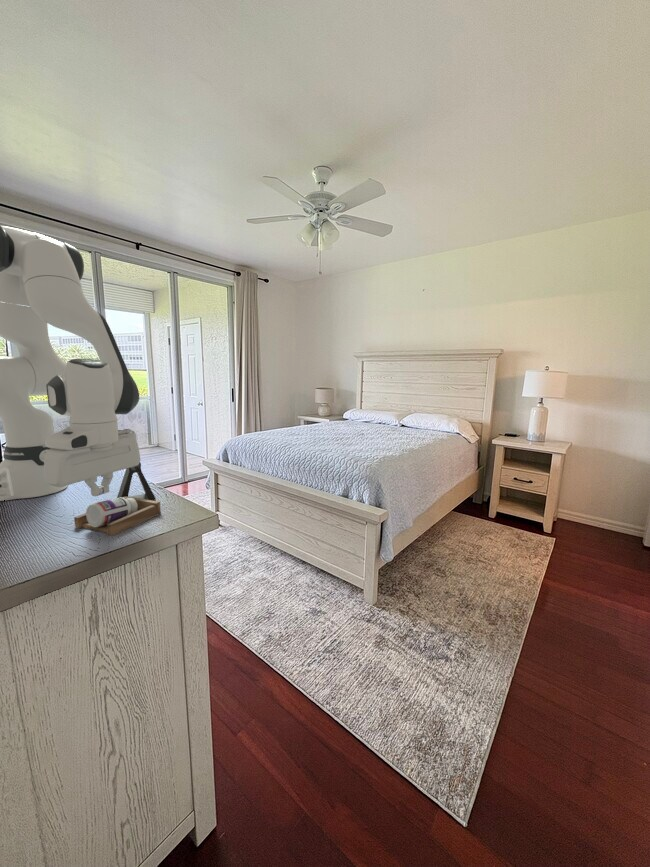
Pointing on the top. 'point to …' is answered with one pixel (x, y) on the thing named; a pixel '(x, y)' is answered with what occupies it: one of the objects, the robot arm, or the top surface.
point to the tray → (144, 512)
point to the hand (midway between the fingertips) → (100, 494)
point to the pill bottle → (110, 511)
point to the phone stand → (127, 481)
